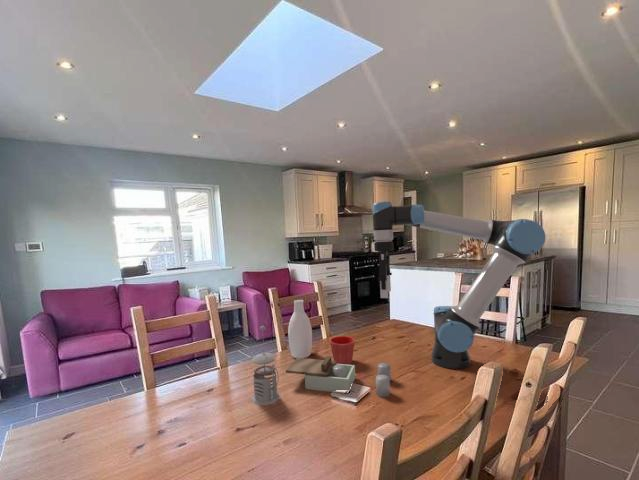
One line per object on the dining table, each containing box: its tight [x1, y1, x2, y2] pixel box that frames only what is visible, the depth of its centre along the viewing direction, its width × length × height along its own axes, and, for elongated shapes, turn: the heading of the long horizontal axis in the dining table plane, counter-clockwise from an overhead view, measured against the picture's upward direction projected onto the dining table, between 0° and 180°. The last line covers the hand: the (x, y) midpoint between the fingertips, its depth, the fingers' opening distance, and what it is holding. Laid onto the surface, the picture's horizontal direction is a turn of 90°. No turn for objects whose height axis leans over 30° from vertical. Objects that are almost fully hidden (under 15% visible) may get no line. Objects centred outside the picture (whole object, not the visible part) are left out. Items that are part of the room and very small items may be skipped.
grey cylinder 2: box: [377, 362, 392, 383], centre depth 118 cm, size 5×5×6 cm
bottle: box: [287, 299, 313, 359], centre depth 146 cm, size 11×11×25 cm
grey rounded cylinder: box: [375, 374, 391, 398], centre depth 108 cm, size 5×5×6 cm
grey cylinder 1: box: [333, 365, 345, 378], centre depth 116 cm, size 5×5×6 cm
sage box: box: [304, 364, 356, 393], centre depth 117 cm, size 16×12×5 cm
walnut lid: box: [285, 355, 336, 377], centre depth 119 cm, size 16×12×3 cm
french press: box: [251, 325, 281, 406], centre depth 108 cm, size 10×12×25 cm
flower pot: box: [329, 335, 356, 365], centre depth 136 cm, size 11×11×10 cm
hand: (386, 294), depth 125 cm, fingers open, 13 cm apart
